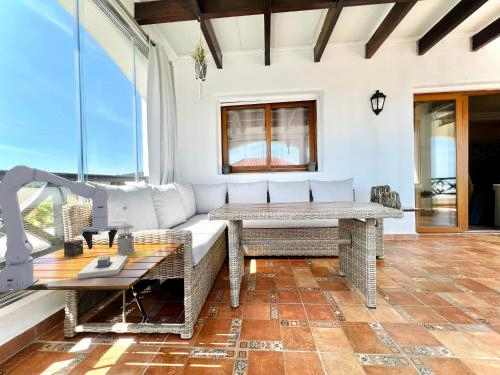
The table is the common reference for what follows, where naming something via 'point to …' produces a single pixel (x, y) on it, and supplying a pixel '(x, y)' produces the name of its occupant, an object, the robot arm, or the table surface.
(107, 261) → the block
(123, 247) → the french press
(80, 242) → the box
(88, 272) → the base plate
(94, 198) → the robot arm
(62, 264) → the table surface
